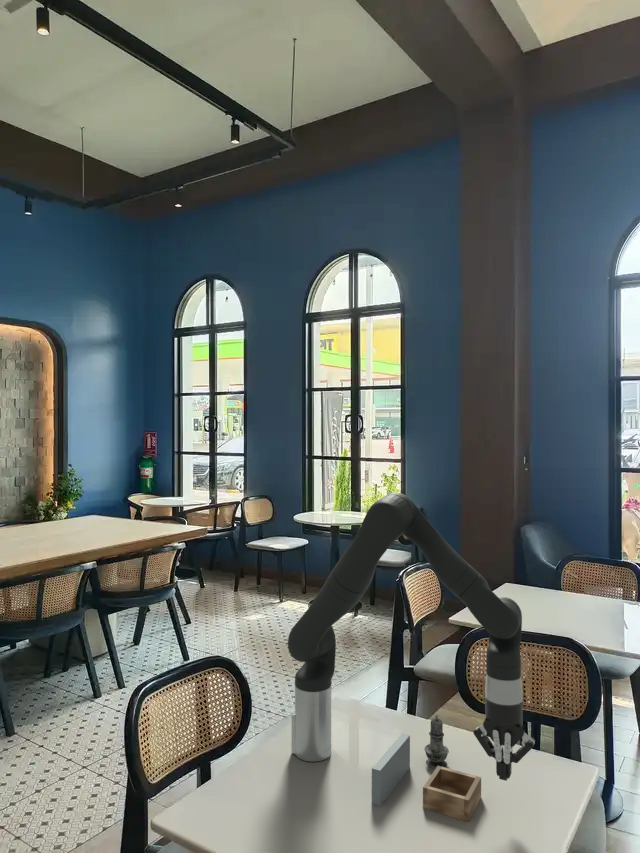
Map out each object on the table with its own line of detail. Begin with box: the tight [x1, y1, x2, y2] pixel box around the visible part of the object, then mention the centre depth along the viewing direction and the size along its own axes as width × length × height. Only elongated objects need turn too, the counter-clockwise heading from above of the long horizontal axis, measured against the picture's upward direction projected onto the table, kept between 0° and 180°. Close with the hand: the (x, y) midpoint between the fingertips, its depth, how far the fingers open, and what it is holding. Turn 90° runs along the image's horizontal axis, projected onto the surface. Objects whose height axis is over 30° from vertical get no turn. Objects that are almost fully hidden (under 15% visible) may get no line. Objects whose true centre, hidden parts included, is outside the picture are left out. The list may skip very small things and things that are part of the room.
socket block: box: [422, 766, 482, 823], centre depth 141 cm, size 10×10×4 cm
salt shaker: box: [424, 715, 450, 770], centre depth 157 cm, size 6×6×12 cm
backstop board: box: [371, 732, 411, 807], centre depth 148 cm, size 2×18×8 cm, turn 151°
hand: (504, 778), depth 135 cm, fingers closed
